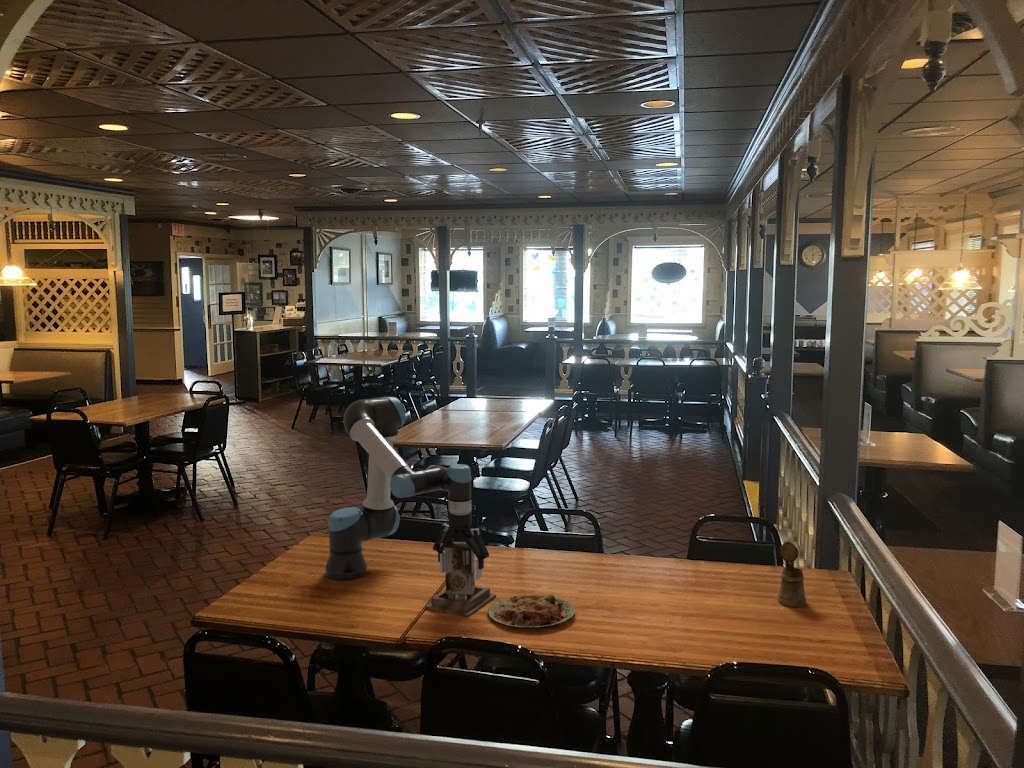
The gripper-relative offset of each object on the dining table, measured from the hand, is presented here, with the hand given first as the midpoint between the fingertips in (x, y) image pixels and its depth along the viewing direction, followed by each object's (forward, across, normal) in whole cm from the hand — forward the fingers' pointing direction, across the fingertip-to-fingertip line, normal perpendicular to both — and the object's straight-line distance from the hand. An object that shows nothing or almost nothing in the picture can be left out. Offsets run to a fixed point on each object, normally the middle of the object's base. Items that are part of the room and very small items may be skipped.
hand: (460, 574), depth 261 cm
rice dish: (+10, +25, +2) cm, 27 cm away
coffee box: (+6, 0, 0) cm, 6 cm away
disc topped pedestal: (+10, +97, +51) cm, 110 cm away
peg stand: (+10, 0, 0) cm, 10 cm away
